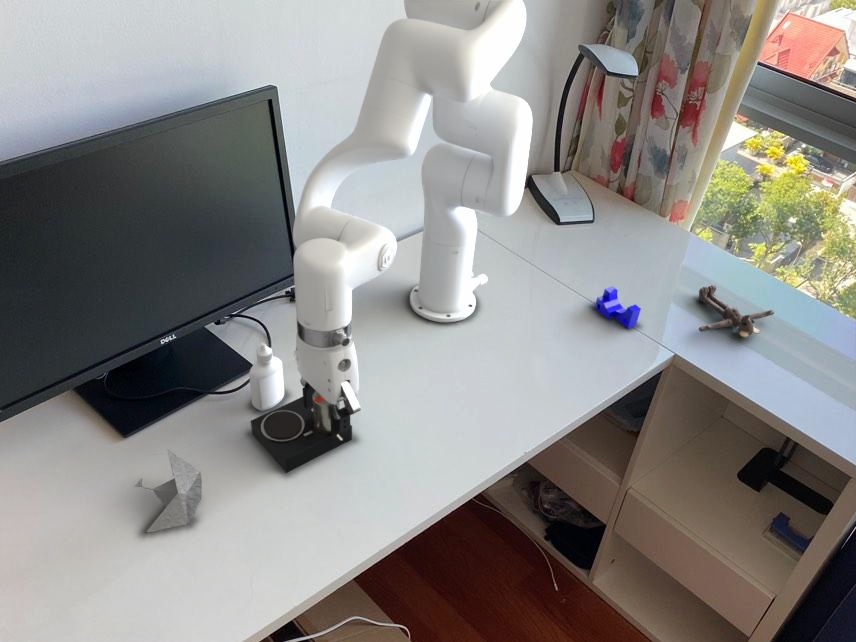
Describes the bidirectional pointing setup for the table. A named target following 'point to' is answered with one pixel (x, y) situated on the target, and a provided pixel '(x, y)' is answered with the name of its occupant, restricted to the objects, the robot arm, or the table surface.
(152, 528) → the origami crane
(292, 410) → the hot plate
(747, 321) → the brown monkey figure
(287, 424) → the burner
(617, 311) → the cable holder
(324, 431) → the knob
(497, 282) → the table surface
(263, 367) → the eye dropper bottle
